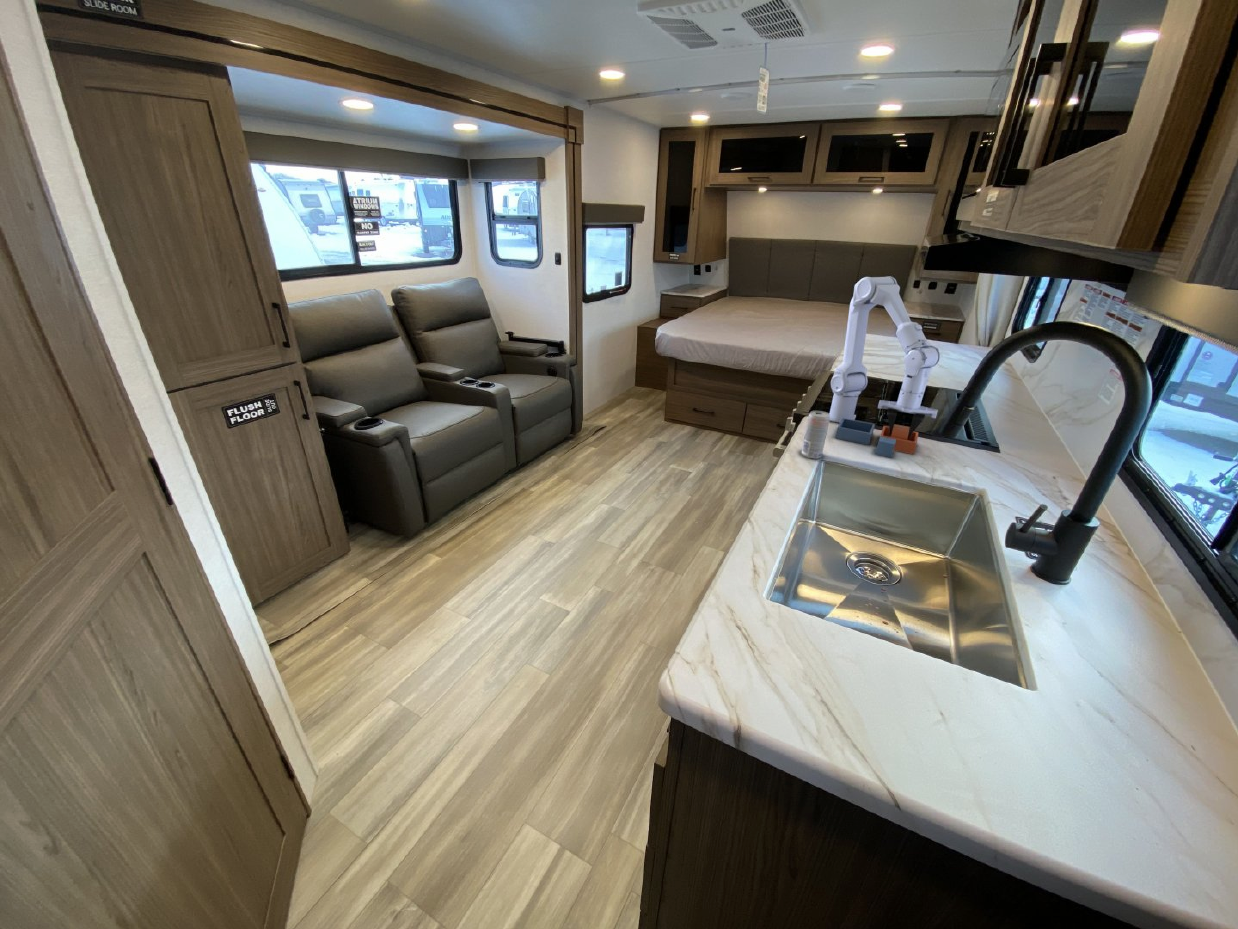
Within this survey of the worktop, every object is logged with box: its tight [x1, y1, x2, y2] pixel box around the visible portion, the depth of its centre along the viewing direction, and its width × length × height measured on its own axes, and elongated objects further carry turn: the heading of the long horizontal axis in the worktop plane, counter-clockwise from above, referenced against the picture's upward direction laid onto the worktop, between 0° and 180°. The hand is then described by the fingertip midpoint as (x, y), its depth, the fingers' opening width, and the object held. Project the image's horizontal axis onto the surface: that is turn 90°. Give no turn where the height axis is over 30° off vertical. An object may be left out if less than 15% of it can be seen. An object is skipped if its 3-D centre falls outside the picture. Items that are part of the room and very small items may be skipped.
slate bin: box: [834, 418, 876, 446], centre depth 147 cm, size 9×9×4 cm
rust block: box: [891, 423, 911, 440], centre depth 141 cm, size 4×4×4 cm
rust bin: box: [879, 425, 919, 455], centre depth 142 cm, size 9×9×4 cm
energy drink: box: [800, 410, 831, 460], centre depth 133 cm, size 5×5×12 cm
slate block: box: [874, 436, 896, 458], centre depth 137 cm, size 4×4×4 cm
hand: (899, 436), depth 142 cm, fingers closed on rust block, 4 cm apart
